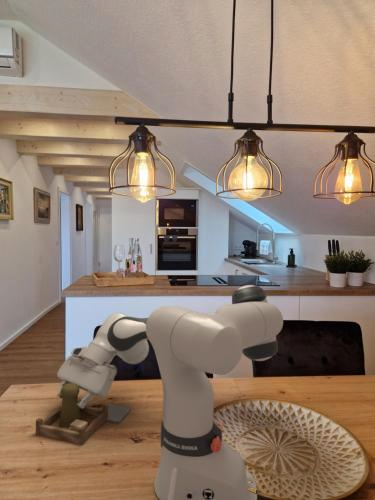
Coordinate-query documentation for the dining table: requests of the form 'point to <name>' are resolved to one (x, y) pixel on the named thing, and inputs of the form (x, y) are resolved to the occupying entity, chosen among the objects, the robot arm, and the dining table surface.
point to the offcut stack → (78, 425)
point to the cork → (69, 405)
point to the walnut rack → (69, 435)
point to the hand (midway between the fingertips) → (69, 402)
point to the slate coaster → (116, 413)
